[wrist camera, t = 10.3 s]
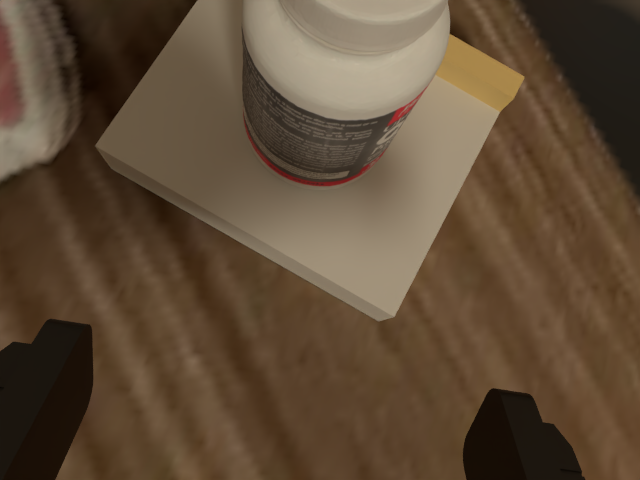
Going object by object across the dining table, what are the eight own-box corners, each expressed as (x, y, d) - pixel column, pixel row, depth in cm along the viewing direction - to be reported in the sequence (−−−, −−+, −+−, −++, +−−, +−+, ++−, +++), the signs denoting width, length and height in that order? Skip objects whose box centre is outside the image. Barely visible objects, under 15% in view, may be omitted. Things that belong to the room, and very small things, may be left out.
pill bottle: (385, 200, 21) (496, 70, 12) (235, 185, 21) (226, 36, 11) (391, 64, 22) (497, -155, 13) (249, 47, 22) (251, -196, 12)
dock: (111, 168, 23) (85, 132, 19) (242, -22, 25) (241, -86, 22) (378, 321, 23) (403, 314, 19) (485, 117, 25) (524, 77, 22)
